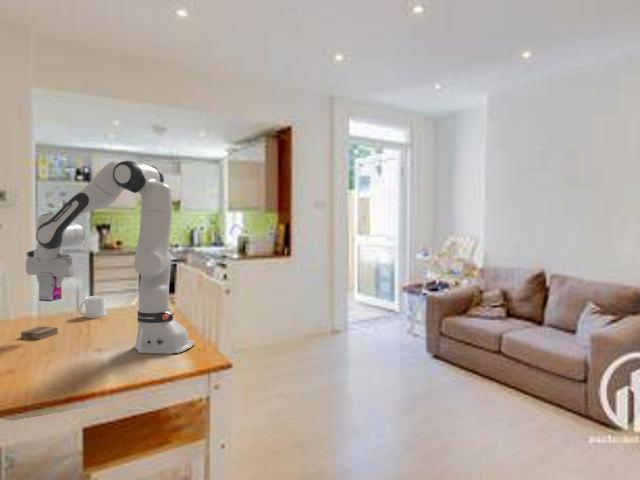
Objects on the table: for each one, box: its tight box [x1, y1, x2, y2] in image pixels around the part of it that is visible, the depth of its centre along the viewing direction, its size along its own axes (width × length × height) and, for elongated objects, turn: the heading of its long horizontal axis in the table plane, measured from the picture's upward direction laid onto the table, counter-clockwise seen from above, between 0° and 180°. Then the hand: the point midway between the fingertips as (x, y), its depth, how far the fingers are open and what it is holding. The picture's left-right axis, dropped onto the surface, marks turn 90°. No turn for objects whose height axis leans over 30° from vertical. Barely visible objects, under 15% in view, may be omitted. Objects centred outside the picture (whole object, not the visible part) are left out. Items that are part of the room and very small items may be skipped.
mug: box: [78, 295, 107, 319], centre depth 212 cm, size 12×9×9 cm
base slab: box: [20, 325, 59, 340], centre depth 179 cm, size 9×9×2 cm
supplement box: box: [38, 273, 62, 302], centre depth 177 cm, size 6×6×12 cm
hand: (50, 286), depth 177 cm, fingers closed on supplement box, 6 cm apart
